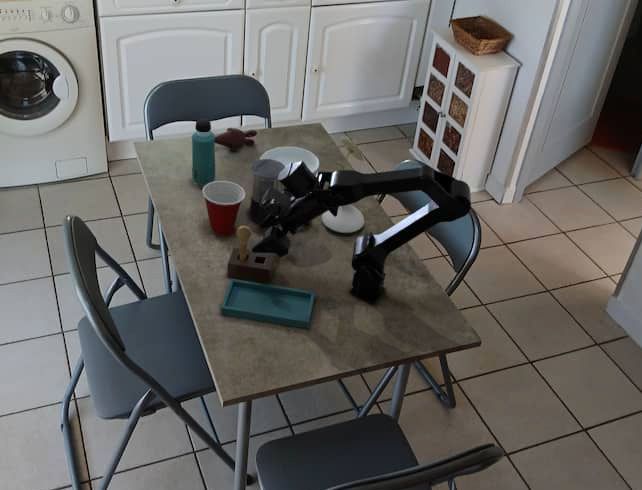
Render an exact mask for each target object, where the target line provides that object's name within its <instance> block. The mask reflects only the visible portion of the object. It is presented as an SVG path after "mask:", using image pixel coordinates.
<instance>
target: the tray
mask: <svg viewBox="0 0 642 490" xmlns="http://www.w3.org/2000/svg"><path fill="white" fill-rule="evenodd" d="M226 289H227V290H226V292H225V295H224V297H223V301H222V304H221V306H220V315H224V316H230V317H236V318H240V319H247V320H253V321H258V322H259V321H260V322H265V323H272V324H278V325H284V326H289V327H296V328H301V329H307V330H308V329H309V328H310V322H311V318H312V314H313V313H312V312H313V309H314V303H315V298H316V291H311V290H304V289H297V288H291V287H287V286H286V287H285V286H279V285H272V284H266V283H259V282H253V281H247V280H241V279H234V278H230V280H229V284H228V286H227V288H226Z"/></svg>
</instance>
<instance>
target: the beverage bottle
mask: <svg viewBox="0 0 642 490" xmlns="http://www.w3.org/2000/svg"><path fill="white" fill-rule="evenodd" d="M211 125H212V124H211V121H210V120H209V119H207V118H206V119H205V118H199V119H197V120H196V121H195V127H194V128H195V131H194V132H193V133H192V135H191V157H192V158H191V160H192V161H191V162H192V163H191V168H192V169H191V176H192V180H193V183H195V184H197V185H199V186H205V185H207V184H208V183H211V182H214V181H216V180H215V179H216V148H215V147H216V143H215V137H216V135H215V134H214V132H213V131H211V130H212V126H211Z"/></svg>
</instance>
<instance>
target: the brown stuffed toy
mask: <svg viewBox="0 0 642 490" xmlns="http://www.w3.org/2000/svg"><path fill="white" fill-rule="evenodd" d="M257 135H258V132H257V130H254V129H249V130H247V131H243V130H241V129H239V128H237V127H233V128H232V127H228V128H227V129H226V131H225V132H223V133H221V134H218V135H215V145H216V144H217V145H219V146H224V147H227V148H228V149H229V150H230V151H231V152H233V151H234V150H241V148H243V147H244V146H252V145H254V144H255V140H254V139H253V138H254V137H256V136H257Z"/></svg>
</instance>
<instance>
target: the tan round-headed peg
mask: <svg viewBox="0 0 642 490" xmlns="http://www.w3.org/2000/svg"><path fill="white" fill-rule="evenodd" d="M235 233H236V236H237V237H238V238H239V249H240V260H242V261H246V254H247V250H248V239H250V238H251V236H252V233H253V232H252V229H251V228H250V227H249V226H248V225H240V226H238V227H237V228H236V232H235Z"/></svg>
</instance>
